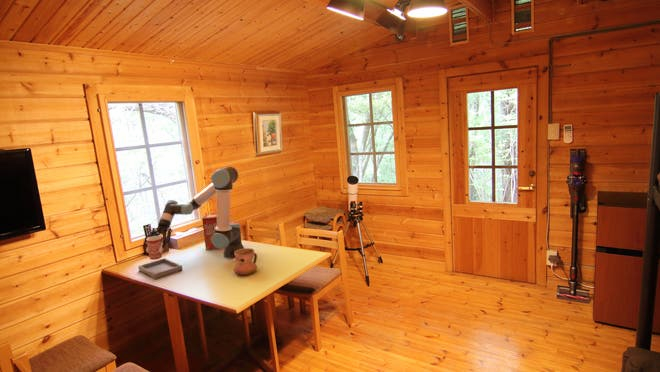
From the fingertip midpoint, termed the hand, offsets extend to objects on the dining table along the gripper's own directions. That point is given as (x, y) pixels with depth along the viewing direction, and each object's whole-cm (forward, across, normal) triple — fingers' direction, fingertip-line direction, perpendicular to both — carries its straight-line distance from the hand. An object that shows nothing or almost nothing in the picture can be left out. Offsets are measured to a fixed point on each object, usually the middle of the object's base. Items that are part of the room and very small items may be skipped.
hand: (153, 251), depth 258 cm
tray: (+8, -1, -12) cm, 15 cm away
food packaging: (-25, -15, -46) cm, 55 cm away
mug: (+1, 0, -6) cm, 6 cm away
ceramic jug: (+6, -61, -14) cm, 63 cm away
